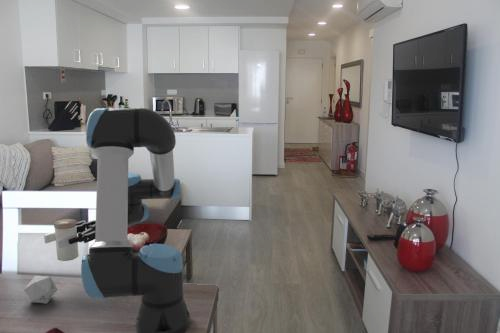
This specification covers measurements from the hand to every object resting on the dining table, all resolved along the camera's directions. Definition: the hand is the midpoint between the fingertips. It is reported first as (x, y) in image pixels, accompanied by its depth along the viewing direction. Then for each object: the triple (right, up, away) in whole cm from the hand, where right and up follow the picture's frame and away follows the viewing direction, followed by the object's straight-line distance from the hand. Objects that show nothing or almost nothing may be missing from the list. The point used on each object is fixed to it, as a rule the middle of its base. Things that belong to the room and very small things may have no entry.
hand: (51, 241), depth 134 cm
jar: (+3, -6, +6) cm, 9 cm away
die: (-3, -19, -1) cm, 19 cm away
